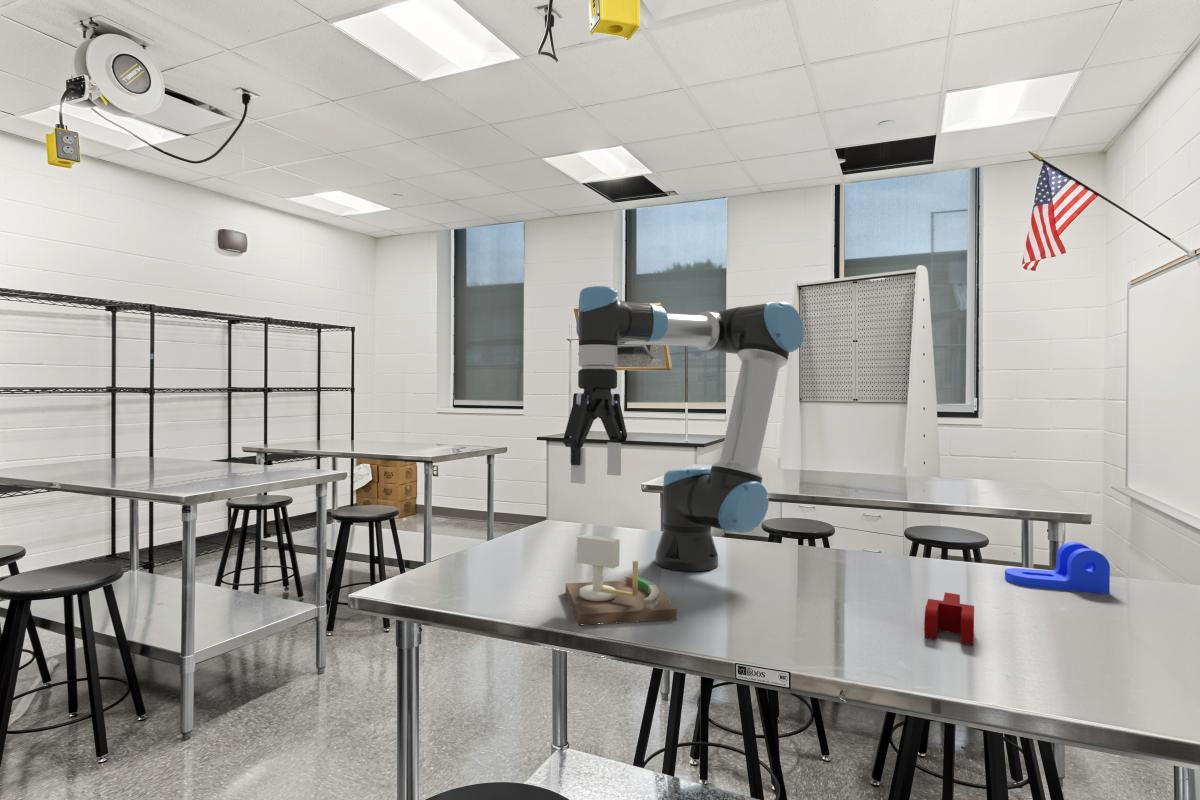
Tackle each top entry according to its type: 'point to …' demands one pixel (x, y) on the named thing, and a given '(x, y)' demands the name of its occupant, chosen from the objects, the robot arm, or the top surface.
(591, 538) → the peg
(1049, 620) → the top surface
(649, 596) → the wooden base board
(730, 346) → the robot arm
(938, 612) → the mechanical linkage
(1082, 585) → the bracket
